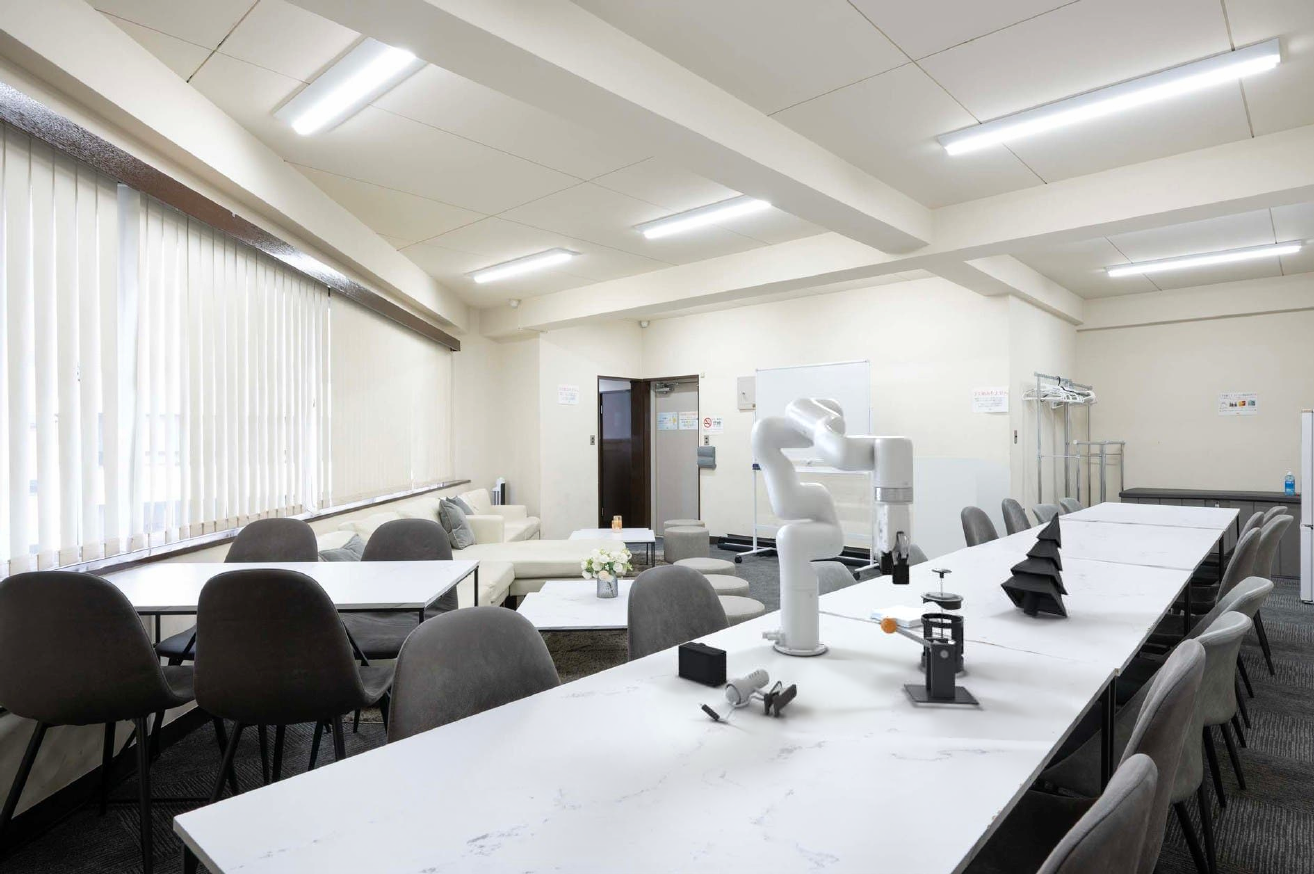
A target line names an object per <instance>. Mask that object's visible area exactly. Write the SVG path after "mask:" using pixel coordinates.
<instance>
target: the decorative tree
mask: <svg viewBox="0 0 1314 874" xmlns="http://www.w3.org/2000/svg"><path fill="white" fill-rule="evenodd" d="M1061 535H1062V534H1061V526H1060V516H1059V512H1058V511H1057V512H1055V514H1054V516H1053V517H1052V518H1051V520H1050V521H1049V523H1048V524H1047V525H1046V526H1045V527H1044V528H1043V529H1041V530H1040V531H1039V533H1038V534H1037V536H1035V537H1036V539H1037V541H1036V542H1035V543H1034V545H1033V546H1032V548H1030V550H1029V551H1027V553H1026V554H1025V556H1026V557H1027V558H1026V559H1024V560H1022V561H1019V562H1018V563H1015V564H1014V565H1013V566H1012V567H1011V568H1010V569H1009V571H1010V573H1011V575H1012V576H1010V577H1009V578H1008V579H1007V580H1006V581H1004V582H1003V583H1001V584H1000V585H999V586H1000V587H1001V588H1002V589H1003V591H1004V593H1005V594H1006V595H1007V597H1008V599H1010V601H1011V602H1012V603H1013V605H1014V606H1015V608H1017V609H1021V610H1023V611H1022V613H1023V614H1025V615H1027V616H1028V617H1034V618H1035V617H1037V616H1038V613H1044V614H1049V615H1056V616H1058V617H1059V616H1060V617H1064V618H1068V614H1067V608H1066V606H1065V604H1064V602H1063V598H1062V595H1064V596H1069V593H1068V592H1067V590H1066V588H1065V586H1064V581H1063V578H1062V575H1061V573H1060V572H1064V570H1063V565H1062V559H1061V558H1062V557H1061V554H1060V551H1059V549H1060V550H1062V549H1063V548H1062V536H1061Z"/></svg>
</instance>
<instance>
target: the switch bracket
mask: <svg viewBox="0 0 1314 874" xmlns="http://www.w3.org/2000/svg"><path fill="white" fill-rule="evenodd" d="M937 637H938V636H933V637H925V640H927V641H929V642H931V651H930V648H929V647H926V646H925V668H924V670H925V674H924V675H925V676H924V677H925V679H924V680H925V681H924V682H925V684H908V683H907V684H905V683H904V684H903V687H904V688H905V690H906V692H907V693H908V694H909V696H910V697H911V699H912V700H913V702H914V703H923V704H924V703H925V704H927V703H929V704H951V705H952V704H953V705H977V706H979V705H980V702H979V701H978V700H977V699H976V697H974V696H973V695H972V694H971V692H969V690H967V688H966V687H965V686H962V685H956V673H955V645H954V644H950V643H949V639H950V638H949V639H948V637H944V638H937ZM934 640H936V641H938V642H940V643H933V642H934Z"/></svg>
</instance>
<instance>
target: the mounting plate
mask: <svg viewBox="0 0 1314 874" xmlns="http://www.w3.org/2000/svg"><path fill="white" fill-rule="evenodd" d="M926 613H931V612H929V611H928V609H927V608H924V607H908V606H905V605H901V604H900V605H896V606H891V607H887V608H886V607H885V608H880V609H876V610H871V619H875V620H879V621H880V623H881V622H882V620H883V619H884V618H888V617H889V618H892V619H894V620H895V621H896V623H897V626H901V627H905V628H908V629H911V628H915V627H918V626H923V624H922V623H921V615H922V614H926ZM929 620H930V621H934V622H939V619H929Z"/></svg>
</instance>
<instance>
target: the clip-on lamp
mask: <svg viewBox="0 0 1314 874" xmlns="http://www.w3.org/2000/svg"><path fill="white" fill-rule="evenodd" d="M769 683H770V676H769V673H768V672H767V671H766V670H765V669H763V668H758V669H756V670H754V671H752V672H750V673H749V674H747V675H745V676H744V677H741V678H738V677H737V678H732V679H730V680H729V681H728V682H726V683H725V687H724V690H725V691H724V692H725V699H727V701H728V702H729V703H731V709H730V712H729V713H728V715H727V716H726V717H725V718H724V719H721V716H720V714H718V713H717V712H716V711H714V709H712V708H711V707H710V706H709V705H707V704H706V703H704V704H702V702H701V703H699V704H698V705H699V706H700V707H701V710H702V711H703V712H704V713H706V714H707V715H708V716H709V717H710V718H712V719H713V720H714V721H715V722H718V721H719V722H724V721H727V720H728V718H729V717H730V716H731V714H732V713H733V710H734V708H741V707H744V706H747V705H748V704H749V703H750V702H751V701H752V699H754V700H757V701H761V702H763V706H764V714H765V715H766V716H769V714H770V713H771V708H772V706H773V713H774V717H775V718H778V717H779V716H780V715H781V710H782V709H783V708H784V707H786V705H788V704H789V703H791V701H792V700H794V698H796V697H797V694H798V690H797V689H798V687H797V684H795V683H792V684H791V685H790V686H785V687H783V683H782V681H781V680H778V681H777V682H776V683H775V684H774V685H773V687H772V688H771V690H770V691H769V692H766V691H764V690H762V689H763V688H764V687H766V686H767V685H769ZM755 693H756V694H758V695H760V696H762V697H763V698H762V697H759V696H757V695H754V694H755Z"/></svg>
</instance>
